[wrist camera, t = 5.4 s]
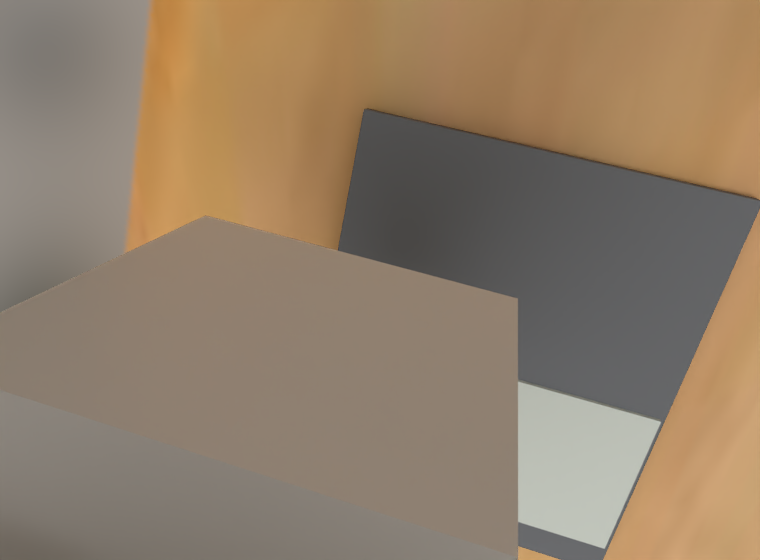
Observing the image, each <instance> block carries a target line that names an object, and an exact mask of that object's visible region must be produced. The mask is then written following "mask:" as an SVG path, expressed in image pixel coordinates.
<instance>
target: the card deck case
mask: <svg viewBox="0 0 760 560" xmlns="http://www.w3.org/2000/svg"><path fill="white" fill-rule="evenodd" d="M517 559H518V298H514V297H510V296H507V295H503V294H499V293H495V292H491V291H488V290H484V289H480V288H476V287H473V286H469V285H465V284H461V283H458V282H454V281H450V280H446V279H443V278H439V277H435V276H431V275H428V274H424V273H420V272H416V271H413V270H409V269H405V268H401V267H397V266H394V265H390V264H386V263H382V262H379V261H375V260H371V259H367V258H364V257H360V256H356V255H352V254H349V253H345V252H341V251H337V250H334V249H330V248H326V247H322V246H319V245H315V244H311V243H307V242H303V241H300V240H296V239H292V238H288V237H285V236H281V235H277V234H273V233H270V232H266V231H262V230H258V229H255V228H251V227H247V226H243V225H240V224H236V223H232V222H228V221H225V220H221V219H217V218H213V217H210V216H206V215H205V216H203V217H201V218H199V219H197V220H195V221H193V222H191V223H189V224H186V225H184V226H182V227H180V228H178V229H176V230H174V231H172V232H169V233H167V234H165V235H163V236H161V237H159V238H157V239H155V240H153V241H150V242H148V243H146V244H144V245H142V246H140V247H138V248H136V249H134V250H131V251H129V252H127V253H125V254H123V255H121V256H119V257H117V258H115V259H112V260H110V261H108V262H106V263H104V264H102V265H100V266H98V267H95V268H93V269H92V270H89V271H87V272H85V273H83V274H81V275H79V276H76V277H75V278H72V279H70V280H68V281H66V282H64V283H62V284H59V285H57V286H55V287H53V288H51V289H49V290H47V291H45V292H43V293H40V294H38V295H36V296H34V297H32V298H30V299H28V300H26V301H23V302H21V303H20V304H17V305H15V306H13V307H11V308H9V309H7V310H5V311H3V312H0V560H517Z"/></svg>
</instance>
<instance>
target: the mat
mask: <svg viewBox="0 0 760 560" xmlns="http://www.w3.org/2000/svg"><path fill="white" fill-rule="evenodd" d="M759 209H760V200H758V199H756V198H752V197H748V196H743V195H739V194H735V193H730V192H726V191H722V190H717V189H713V188H709V187H704V186H700V185H696V184H691V183H687V182H683V181H678V180H674V179H670V178H665V177H661V176H657V175H652V174H648V173H644V172H639V171H635V170H631V169H626V168H622V167H618V166H613V165H609V164H605V163H600V162H596V161H592V160H587V159H583V158H579V157H574V156H570V155H566V154H561V153H557V152H553V151H548V150H544V149H540V148H535V147H531V146H527V145H522V144H518V143H514V142H509V141H505V140H501V139H496V138H492V137H488V136H483V135H479V134H475V133H470V132H466V131H462V130H457V129H453V128H449V127H444V126H440V125H436V124H431V123H427V122H423V121H418V120H414V119H410V118H405V117H401V116H397V115H392V114H388V113H384V112H379V111H375V110H371V109H364V112H363V117H362V123H361V128H360V134H359V139H358V144H357V150H356V155H355V161H354V166H353V171H352V177H351V182H350V188H349V193H348V198H347V204H346V209H345V214H344V220H343V225H342V231H341V236H340V241H339V247H338V251H341V252H345V253H349V254H352V255H356V256H360V257H364V258H367V259H371V260H375V261H379V262H382V263H386V264H390V265H394V266H397V267H401V268H405V269H409V270H413V271H416V272H420V273H424V274H428V275H431V276H435V277H439V278H443V279H446V280H450V281H454V282H458V283H461V284H465V285H469V286H473V287H476V288H480V289H484V290H488V291H491V292H495V293H499V294H503V295H507V296H510V297H514V298H518V546H520V547H523V548H526V549H529V550H533V551H536V552H539V553H542V554H545V555H548V556H551V557H555V558H558V559H561V560H603V558H604V556H605V554H606V551H607V549H608V547H609V545H610V542H611V540H612V538H613V536H614V533H615V531H616V529H617V527H618V524H619V522H620V520H621V518H622V516H623V513H624V511H625V509H626V507H627V504H628V502H629V500H630V498H631V495H632V493H633V491H634V489H635V486H636V484H637V482H638V480H639V478H640V475H641V473H642V471H643V469H644V466H645V464H646V462H647V460H648V457H649V455H650V453H651V451H652V448H653V446H654V444H655V442H656V439H657V437H658V435H659V433H660V431H661V428H662V426H663V424H664V422H665V419H666V417H667V415H668V413H669V410H670V408H671V406H672V404H673V401H674V399H675V397H676V395H677V393H678V390H679V388H680V386H681V384H682V381H683V379H684V377H685V375H686V372H687V370H688V368H689V366H690V363H691V361H692V359H693V357H694V354H695V352H696V350H697V348H698V346H699V343H700V341H701V339H702V337H703V334H704V332H705V330H706V328H707V325H708V323H709V321H710V319H711V316H712V314H713V312H714V310H715V307H716V305H717V303H718V301H719V299H720V296H721V294H722V292H723V290H724V287H725V285H726V283H727V281H728V278H729V276H730V274H731V272H732V269H733V267H734V265H735V263H736V261H737V258H738V256H739V254H740V252H741V249H742V247H743V245H744V243H745V240H746V238H747V236H748V234H749V231H750V229H751V227H752V225H753V222H754V220H755V218H756V216H757V214H758V211H759Z"/></svg>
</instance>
